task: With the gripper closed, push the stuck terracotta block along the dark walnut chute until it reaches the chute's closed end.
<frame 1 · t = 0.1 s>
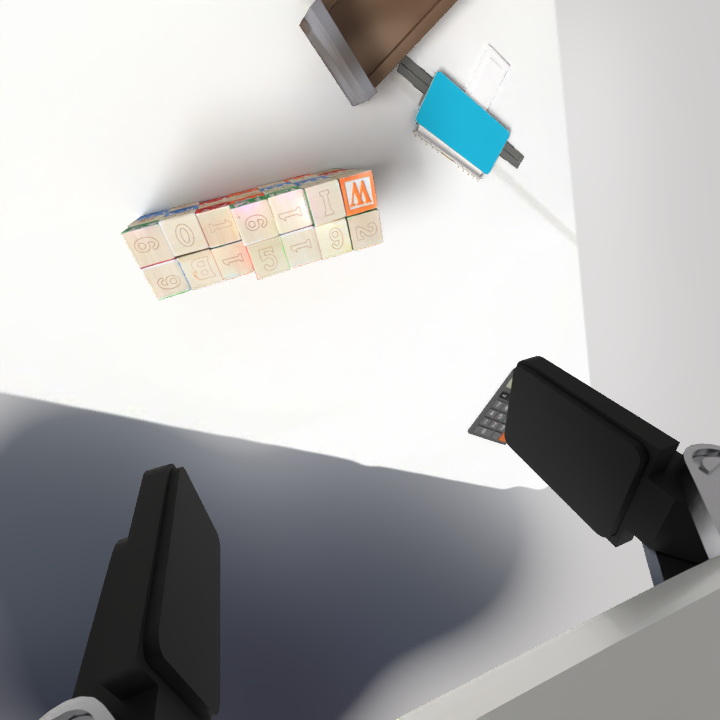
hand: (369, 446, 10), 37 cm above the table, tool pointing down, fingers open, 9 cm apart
stack of blocks: (252, 219, 40), on the table
calculator: (506, 406, 71), on the table
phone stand: (466, 112, 43), on the table
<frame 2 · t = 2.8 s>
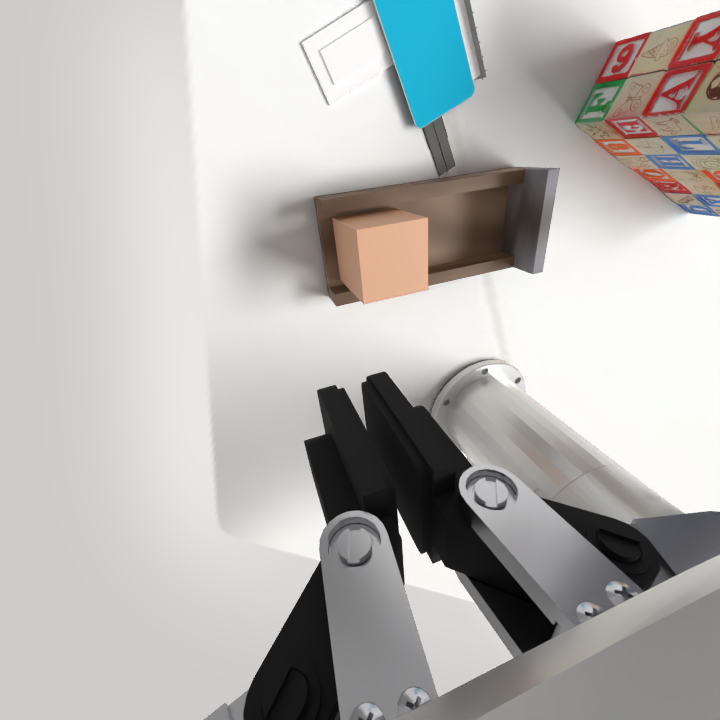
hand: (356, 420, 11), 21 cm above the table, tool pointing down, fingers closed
stack of blocks: (655, 141, 35), on the table
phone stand: (386, 31, 25), on the table
chute: (421, 231, 31), on the table
block: (378, 252, 27), point 4 cm above the table, slide at 0.0 cm
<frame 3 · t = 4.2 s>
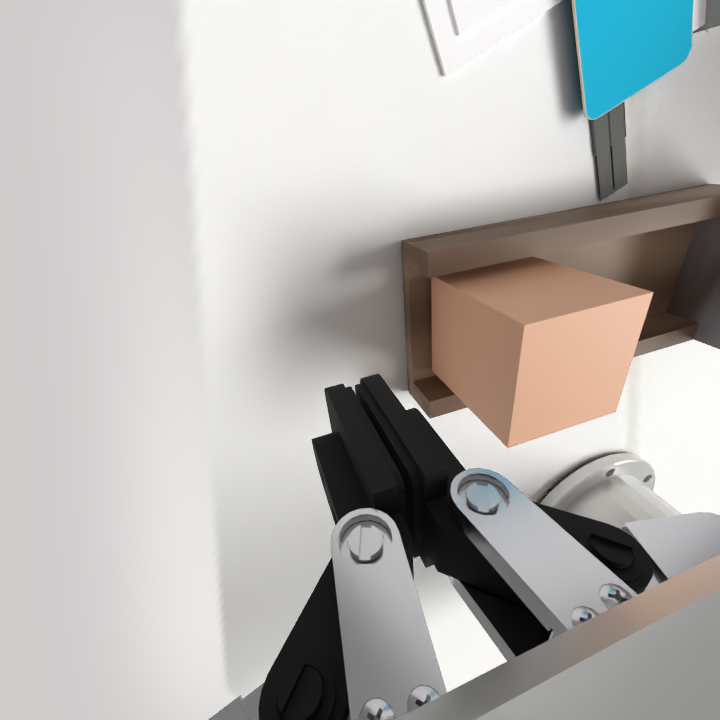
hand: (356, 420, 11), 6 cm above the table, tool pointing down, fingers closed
chute: (558, 288, 19), on the table
block: (518, 339, 15), point 4 cm above the table, slide at 0.0 cm
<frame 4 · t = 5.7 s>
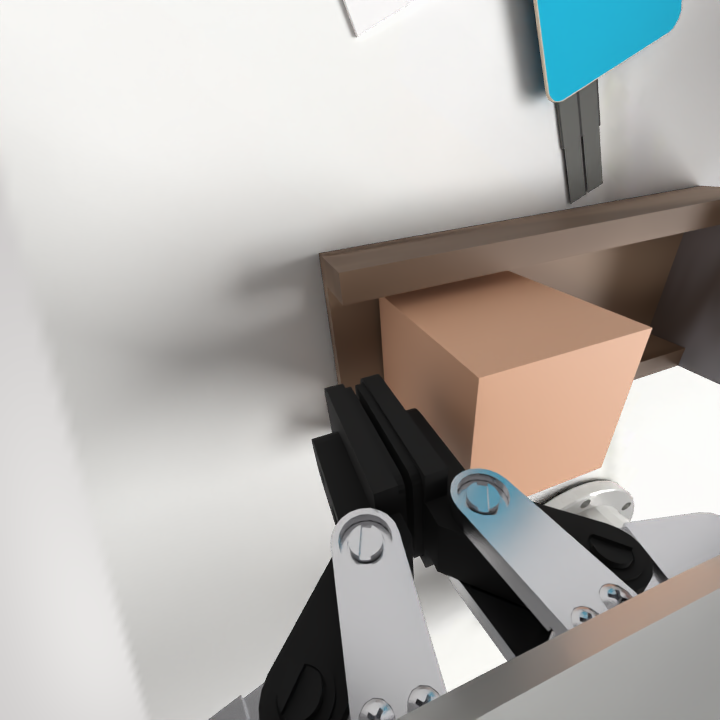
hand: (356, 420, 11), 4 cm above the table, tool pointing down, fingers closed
chute: (523, 307, 16), on the table
block: (484, 375, 12), point 4 cm above the table, slide at 0.8 cm, touching gripper
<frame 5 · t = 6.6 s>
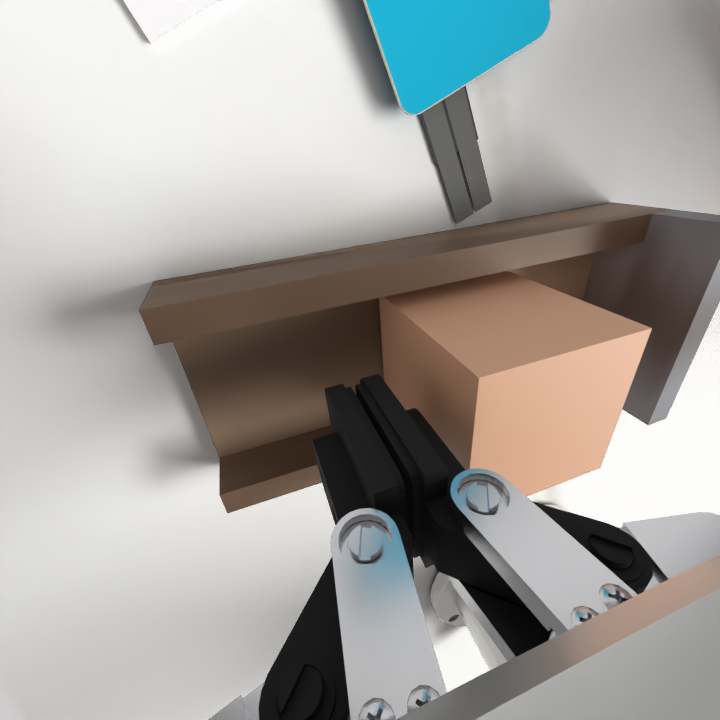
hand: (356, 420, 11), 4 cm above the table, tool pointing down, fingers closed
chute: (419, 333, 15), on the table
block: (484, 375, 12), point 4 cm above the table, slide at 6.0 cm, touching gripper
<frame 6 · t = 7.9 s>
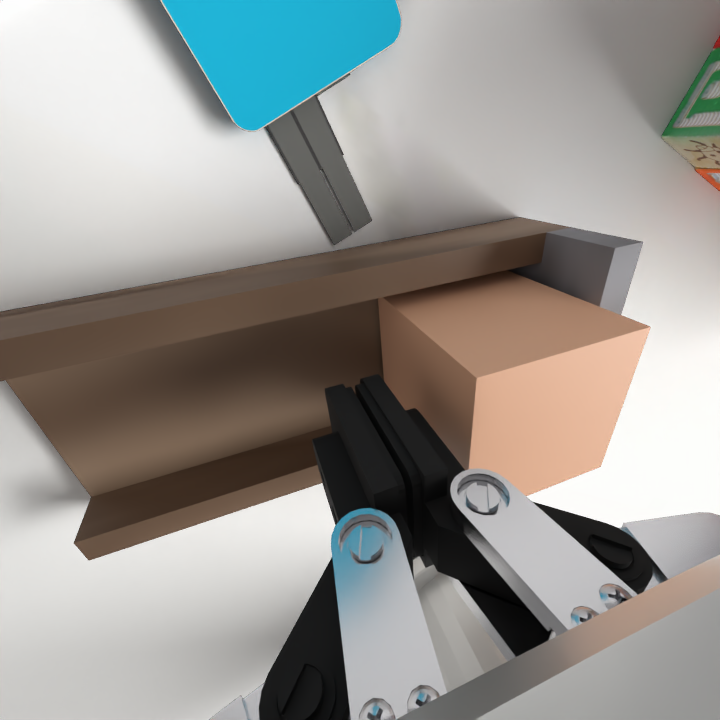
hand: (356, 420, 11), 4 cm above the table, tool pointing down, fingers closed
chute: (313, 359, 14), on the table
block: (483, 375, 12), point 4 cm above the table, slide at 10.6 cm, touching gripper
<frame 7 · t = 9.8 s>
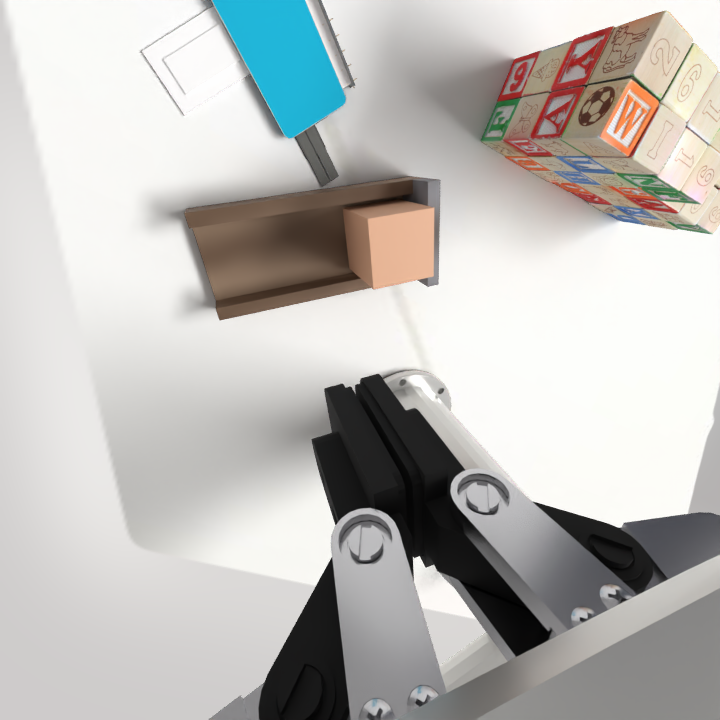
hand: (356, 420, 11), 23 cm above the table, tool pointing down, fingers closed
stack of blocks: (572, 153, 35), on the table
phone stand: (242, 38, 24), on the table
chute: (314, 242, 30), on the table
block: (387, 241, 29), point 4 cm above the table, slide at 10.5 cm
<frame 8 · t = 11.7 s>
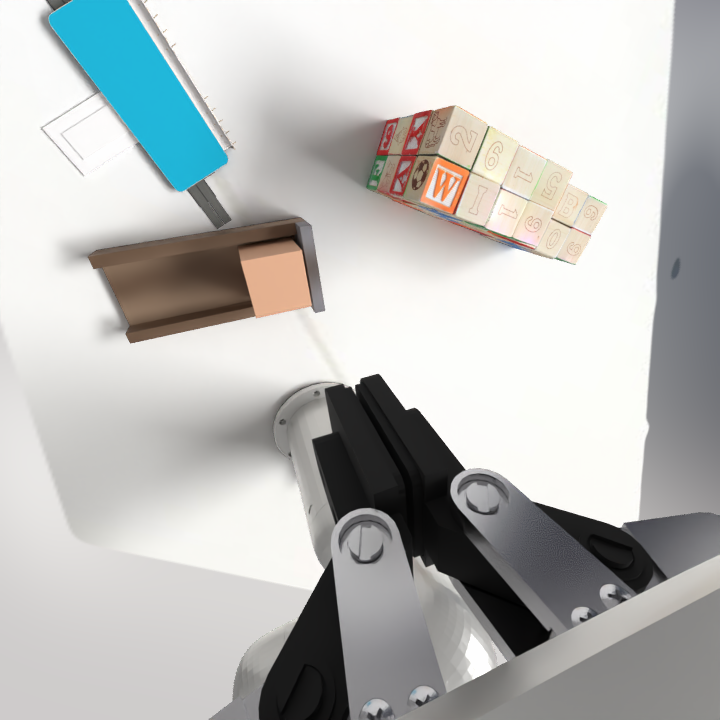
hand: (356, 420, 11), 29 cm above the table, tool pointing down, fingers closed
stack of blocks: (458, 193, 40), on the table
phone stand: (132, 112, 28), on the table
chute: (218, 275, 35), on the table
block: (274, 275, 33), point 4 cm above the table, slide at 10.5 cm
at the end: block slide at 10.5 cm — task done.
